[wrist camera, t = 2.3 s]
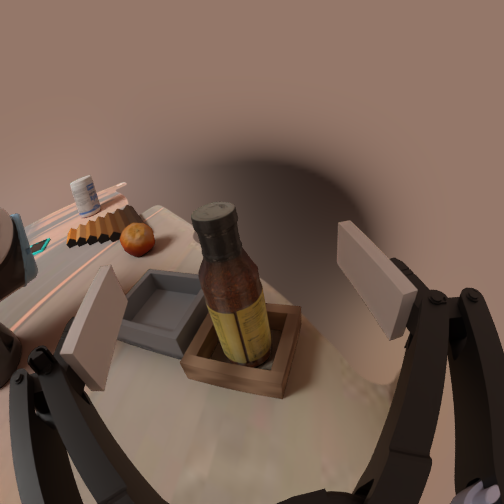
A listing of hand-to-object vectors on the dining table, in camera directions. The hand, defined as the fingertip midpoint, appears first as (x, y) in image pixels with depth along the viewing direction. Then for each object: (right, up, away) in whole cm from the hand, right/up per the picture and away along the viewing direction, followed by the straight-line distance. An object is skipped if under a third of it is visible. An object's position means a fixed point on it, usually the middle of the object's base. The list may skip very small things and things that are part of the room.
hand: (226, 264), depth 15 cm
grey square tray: (-12, -10, +26) cm, 30 cm away
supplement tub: (-62, +16, +79) cm, 102 cm away
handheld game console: (-77, 0, +59) cm, 97 cm away
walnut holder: (+1, -12, +19) cm, 23 cm away
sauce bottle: (+1, -12, +19) cm, 23 cm away
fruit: (-25, 0, +46) cm, 52 cm away
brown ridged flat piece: (-42, +5, +58) cm, 72 cm away
